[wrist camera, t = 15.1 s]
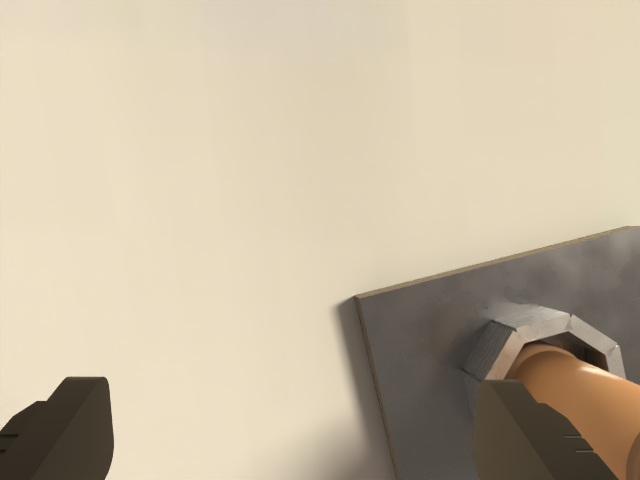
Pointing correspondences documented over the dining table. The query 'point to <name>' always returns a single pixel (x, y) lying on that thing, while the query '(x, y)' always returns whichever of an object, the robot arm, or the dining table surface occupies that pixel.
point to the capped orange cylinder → (585, 402)
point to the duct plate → (457, 319)
